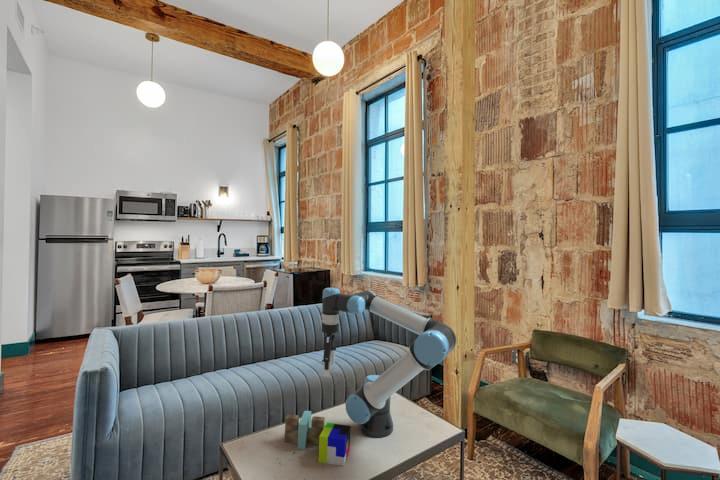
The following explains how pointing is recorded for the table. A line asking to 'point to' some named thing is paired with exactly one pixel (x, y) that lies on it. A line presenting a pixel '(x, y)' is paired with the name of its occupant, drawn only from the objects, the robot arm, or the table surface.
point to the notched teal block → (304, 429)
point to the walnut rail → (312, 433)
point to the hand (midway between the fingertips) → (328, 370)
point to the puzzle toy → (334, 444)
